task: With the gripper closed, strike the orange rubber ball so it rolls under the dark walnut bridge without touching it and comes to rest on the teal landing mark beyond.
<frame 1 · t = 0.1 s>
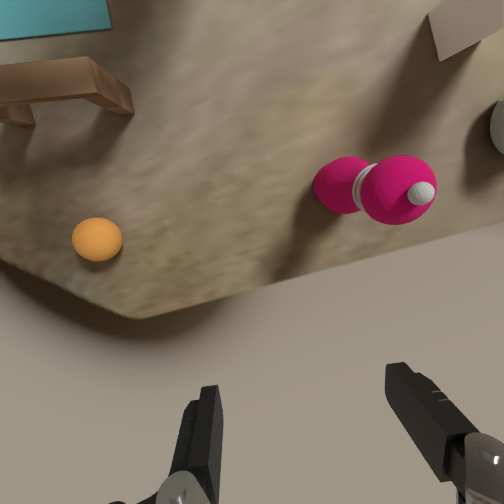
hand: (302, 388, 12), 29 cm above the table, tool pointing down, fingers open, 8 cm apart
ball: (98, 239, 36), on the table
bridge: (74, 107, 34), on the table
pepper mill: (334, 184, 39), on the table
milk: (454, 27, 34), on the table
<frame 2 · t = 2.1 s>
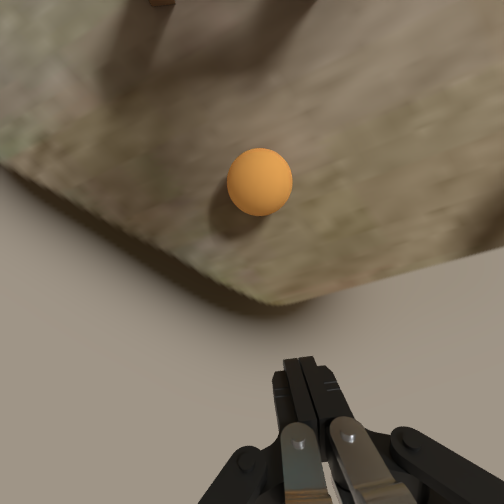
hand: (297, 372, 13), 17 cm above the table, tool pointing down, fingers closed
ball: (259, 183, 24), on the table
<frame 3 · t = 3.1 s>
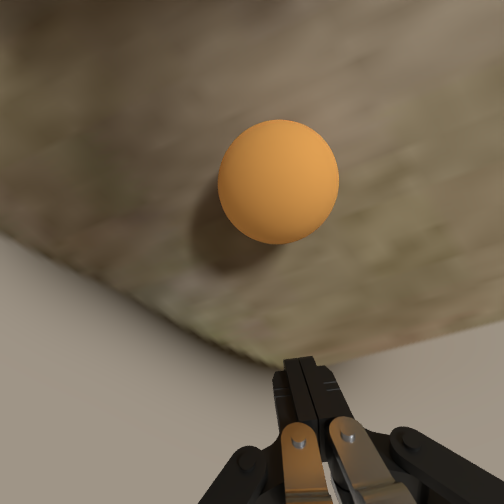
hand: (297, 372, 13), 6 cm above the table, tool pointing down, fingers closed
ball: (277, 185, 13), on the table
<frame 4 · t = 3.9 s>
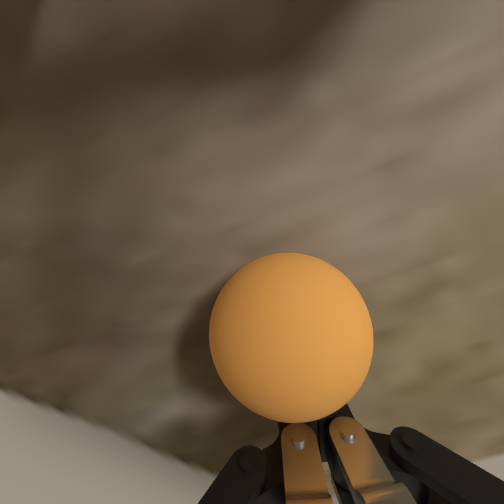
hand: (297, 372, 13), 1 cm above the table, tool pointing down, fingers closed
ball: (287, 330, 10), on the table, touching gripper
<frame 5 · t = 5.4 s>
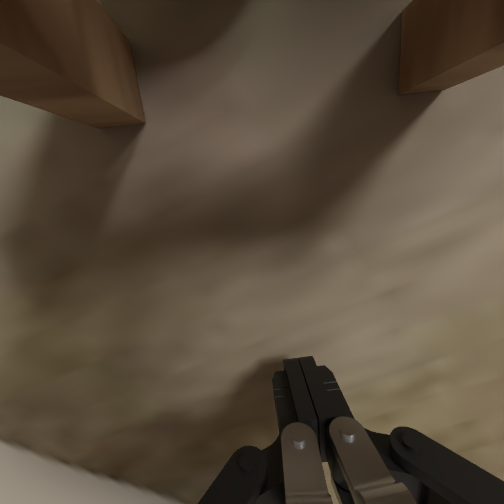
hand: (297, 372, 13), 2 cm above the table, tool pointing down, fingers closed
bridge: (269, 68, 11), on the table
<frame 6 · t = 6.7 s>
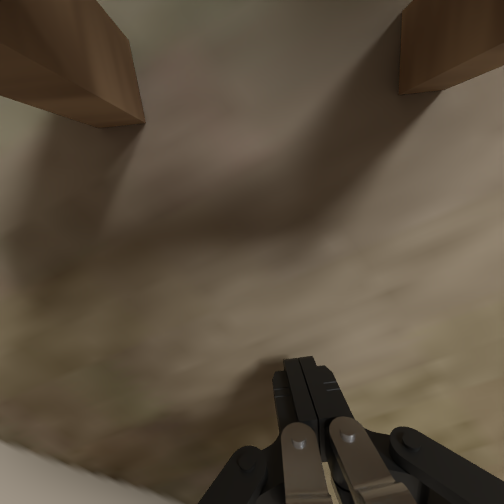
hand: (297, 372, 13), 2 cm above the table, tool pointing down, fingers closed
bridge: (269, 68, 11), on the table
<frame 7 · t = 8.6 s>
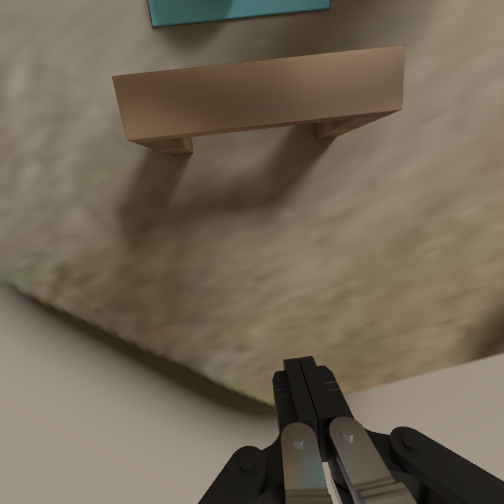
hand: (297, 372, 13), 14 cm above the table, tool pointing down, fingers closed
bridge: (252, 127, 23), on the table
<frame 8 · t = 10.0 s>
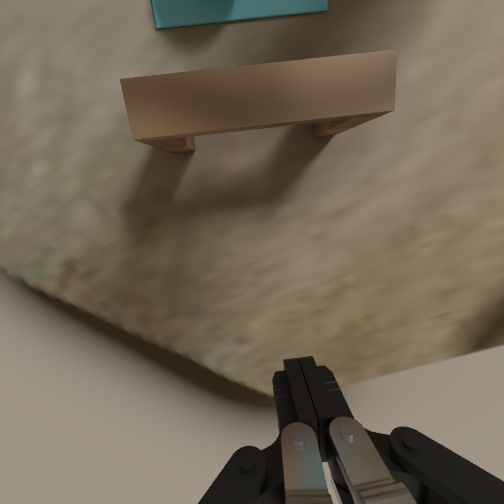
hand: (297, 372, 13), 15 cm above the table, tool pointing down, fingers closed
bridge: (253, 126, 24), on the table
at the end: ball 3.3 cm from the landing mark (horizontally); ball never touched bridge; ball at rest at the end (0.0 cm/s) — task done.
